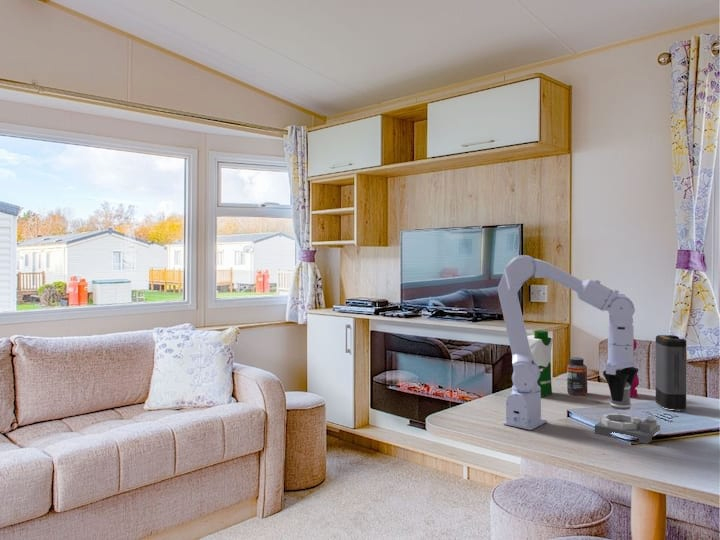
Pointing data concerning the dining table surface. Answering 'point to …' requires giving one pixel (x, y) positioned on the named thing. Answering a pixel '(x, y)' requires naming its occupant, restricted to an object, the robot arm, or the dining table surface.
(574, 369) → the supplement bottle
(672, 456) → the dining table surface
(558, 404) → the dining table surface
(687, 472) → the dining table surface
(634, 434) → the grey base plate
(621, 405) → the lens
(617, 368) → the robot arm
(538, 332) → the milk carton
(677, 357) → the electronic device
